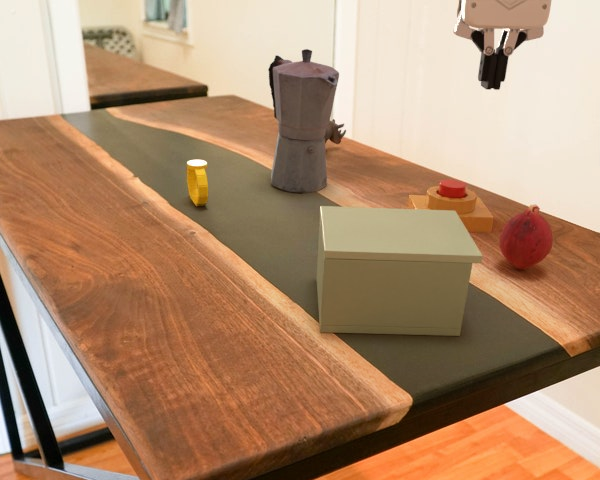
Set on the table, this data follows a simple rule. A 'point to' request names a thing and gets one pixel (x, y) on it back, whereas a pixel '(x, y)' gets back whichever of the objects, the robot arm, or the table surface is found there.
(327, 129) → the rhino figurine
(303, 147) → the moka pot
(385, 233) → the chest lid
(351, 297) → the chest
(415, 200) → the button block
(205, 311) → the table surface
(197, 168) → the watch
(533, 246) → the onion
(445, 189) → the button
